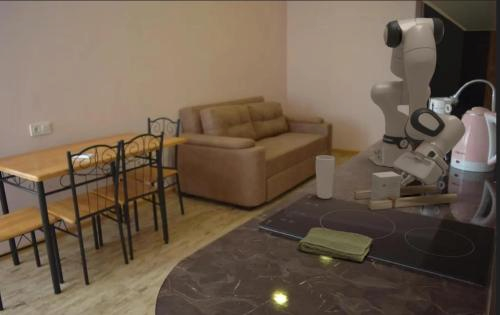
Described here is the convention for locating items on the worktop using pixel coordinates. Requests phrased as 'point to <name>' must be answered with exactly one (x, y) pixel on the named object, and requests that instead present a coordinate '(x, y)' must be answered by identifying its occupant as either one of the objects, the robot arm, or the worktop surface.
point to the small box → (385, 185)
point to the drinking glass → (325, 175)
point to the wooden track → (409, 200)
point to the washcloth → (336, 244)
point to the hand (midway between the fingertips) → (400, 184)
